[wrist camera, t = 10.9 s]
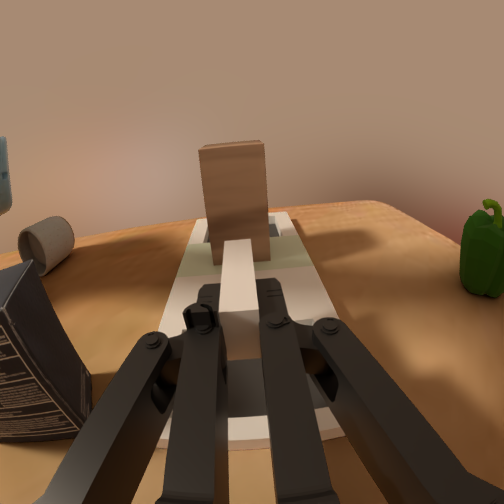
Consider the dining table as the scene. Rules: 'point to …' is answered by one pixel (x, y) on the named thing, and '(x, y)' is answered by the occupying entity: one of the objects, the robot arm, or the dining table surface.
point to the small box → (37, 364)
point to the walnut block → (236, 196)
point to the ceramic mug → (46, 243)
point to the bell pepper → (483, 252)
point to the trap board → (250, 370)
